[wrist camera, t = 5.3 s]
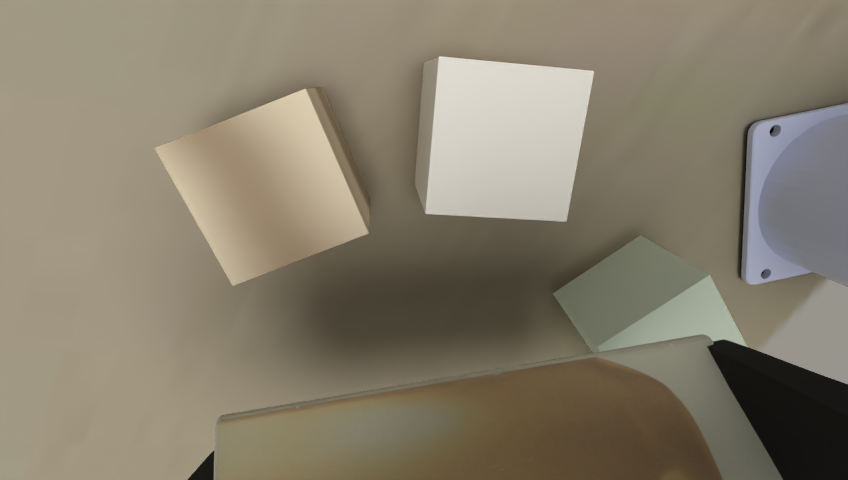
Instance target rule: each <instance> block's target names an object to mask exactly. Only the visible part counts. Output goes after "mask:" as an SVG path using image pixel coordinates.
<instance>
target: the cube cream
mask: <svg viewBox="0 0 848 480" xmlns="http://www.w3.org/2000/svg"><path fill="white" fill-rule="evenodd" d="M593 75H594V71H588V70H578V69H567V68H556V67H546V66H535V65H525V64H514V63H504V62H493V61H482V60H472V59H461V58H451V57H440V56H439V57H436V58H434V59H432V60H429V61H427V62H424V67H423V80H422V93H421V106H420V119H419V132H418V145H417V158H416V171H415V187H416V190H417V192H418V195H419V198H420V201H421V203H422V206H423V209H424V211H425V214H436V215H454V216H472V217H490V218H509V219H527V220H545V221H563V222H566V221H567V216H568V211H569V205H570V200H571V194H572V189H573V183H574V178H575V173H576V167H577V162H578V156H579V151H580V145H581V140H582V135H583V129H584V124H585V118H586V113H587V107H588V102H589V97H590V91H591V86H592V80H593Z"/></svg>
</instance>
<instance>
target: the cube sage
mask: <svg viewBox="0 0 848 480" xmlns="http://www.w3.org/2000/svg"><path fill="white" fill-rule="evenodd" d="M553 295H554V297H555V298H556V299H557V301H558V302H559V304H560V305H561V307H562V308H563V310H564V311H565V313H566V314H567V316H568V317H569V319H570V320H571V322H572V323H573V325H574V326H575V328H576V329H577V331H578V332H579V333H580V335H581V336H582V338H583V339H584V341H585V342H586V344H587V345H588V347H589V348H590V350H591V351H592V353H595V352H601V351H607V350H613V349H619V348H625V347H631V346H636V345H642V344H648V343H654V342H659V341H665V340H671V339H677V338H683V337H688V336H695V335H701V334H704V335H707V336H709V337H710V338H711V339H712V341H718V340H723V339H725V340H728V341H731V342H734V343H737V344H740V345H743V346H746V347H747V345H746V343H745V341H744V339H743V338H742V336H741V334H740V332H739V330H738V328H737V326H736V324H735V322H734V320H733V318H732V317H731V315H730V313H729V311H728V309H727V307H726V305H725V303H724V301H723V299H722V297H721V295H720V294H719V292H718V290H717V288H716V286H715V284H714V282H713V280H712V278H711V276H710V275H709V274H707V273H706V272H704V271H702V270H700V269H699V268H697V267H695V266H693V265H692V264H690V263H688V262H687V261H685V260H683V259H681V258H680V257H678V256H676V255H674V254H673V253H671V252H669V251H668V250H666V249H664V248H662V247H661V246H659V245H657V244H655V243H654V242H652V241H650V240H649V239H647V238H645V237H643V236H642V235H640V236H638V237H637V238H635V239H634V240H632V241H631V242H629V243H628V244H626V245H625V246H623V247H622V248H620V249H619V250H617V251H616V252H614V253H613V254H611V255H610V256H608V257H607V258H605V259H604V260H602V261H601V262H599V263H598V264H596V265H595V266H593V267H592V268H590V269H589V270H587V271H586V272H584V273H583V274H581V275H580V276H578V277H577V278H575V279H574V280H572V281H571V282H569V283H568V284H566V285H565V286H563V287H562V288H560V289H559V290H557V291H556V292H554V293H553Z"/></svg>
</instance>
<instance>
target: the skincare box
mask: <svg viewBox="0 0 848 480" xmlns="http://www.w3.org/2000/svg"><path fill="white" fill-rule="evenodd" d="M713 344H714V343H713V341H712V339H711V338H710V337H709V336H707V335H704V334H701V335H695V336H688V337H683V338H677V339H671V340H665V341H659V342H654V343H648V344H642V345H636V346H631V347H625V348H619V349H613V350H607V351H601V352H595V353H589V354H583V355H577V356H571V357H565V358H559V359H554V360H548V361H542V362H536V363H530V364H524V365H518V366H512V367H506V368H499V369H493V370H487V371H481V372H475V373H469V374H463V375H457V376H451V377H445V378H440V379H434V380H428V381H422V382H416V383H410V384H404V385H398V386H392V387H386V388H381V389H375V390H369V391H363V392H358V393H352V394H346V395H340V396H334V397H328V398H322V399H316V400H310V401H304V402H297V403H291V404H285V405H279V406H273V407H268V408H262V409H256V410H250V411H244V412H238V413H232V414H226V415H221V416H220V417H219V418H218V420H217V423H216V437H215V451H214V480H783V478H782V477H781V475H780V473H779V471H778V470H777V468H776V466H775V465H774V463H773V461H772V459H771V458H770V456H769V454H768V452H767V451H766V449H765V447H764V446H763V444H762V442H761V440H760V439H759V437H758V435H757V434H756V432H755V430H754V429H753V427H752V425H751V423H750V422H749V420H748V418H747V417H746V415H745V413H744V412H743V410H742V408H741V406H740V405H739V403H738V401H737V400H736V398H735V396H734V395H733V393H732V391H731V390H730V388H729V386H728V384H727V383H726V381H725V379H724V377H723V375H722V373H721V371H720V369H719V368H718V366H717V364H716V362H715V360H714V358H713V357H712V355H711V353H710V351H709V349H708V347H707V346H710V345H713Z"/></svg>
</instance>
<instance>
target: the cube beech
mask: <svg viewBox="0 0 848 480" xmlns="http://www.w3.org/2000/svg"><path fill="white" fill-rule="evenodd" d="M155 150H156V152H157V154H158V155H159V157H160V159H161V161H162V162H163V164H164V166H165V168H166V169H167V171H168V173H169V175H170V176H171V178H172V180H173V182H174V183H175V185H176V187H177V189H178V191H179V192H180V194H181V196H182V198H183V199H184V201H185V203H186V205H187V206H188V208H189V210H190V212H191V213H192V215H193V217H194V219H195V220H196V222H197V224H198V226H199V228H200V229H201V231H202V233H203V235H204V236H205V238H206V240H207V242H208V243H209V245H210V247H211V249H212V250H213V252H214V254H215V256H216V257H217V259H218V261H219V263H220V264H221V266H222V268H223V270H224V272H225V273H226V275H227V277H228V279H229V280H230V282H231V284H232V286H234V285H237V284H239V283H242V282H244V281H247V280H250V279H252V278H255V277H257V276H260V275H263V274H265V273H268V272H270V271H273V270H276V269H278V268H281V267H283V266H286V265H288V264H291V263H294V262H296V261H299V260H301V259H304V258H307V257H309V256H312V255H314V254H317V253H320V252H322V251H325V250H327V249H330V248H332V247H335V246H338V245H340V244H343V243H345V242H348V241H351V240H353V239H356V238H358V237H361V236H364V235H366V234H369V215H370V198H369V196H368V193H367V191H366V189H365V186H364V184H363V182H362V179H361V177H360V175H359V172H358V170H357V167H356V165H355V163H354V160H353V158H352V156H351V153H350V151H349V149H348V146H347V144H346V141H345V139H344V137H343V134H342V132H341V130H340V127H339V125H338V123H337V120H336V118H335V115H334V113H333V111H332V108H331V106H330V104H329V101H328V99H327V97H326V94H325V92H324V89H323V87H321V88H307V89H303V90H301V91H298V92H296V93H293V94H290V95H288V96H285V97H283V98H280V99H278V100H275V101H273V102H270V103H268V104H265V105H263V106H260V107H258V108H255V109H253V110H250V111H247V112H245V113H242V114H240V115H237V116H235V117H232V118H230V119H227V120H225V121H222V122H220V123H217V124H215V125H212V126H209V127H207V128H204V129H202V130H199V131H197V132H194V133H192V134H189V135H187V136H184V137H182V138H179V139H177V140H174V141H172V142H169V143H166V144H164V145H161V146H159V147H156V148H155Z"/></svg>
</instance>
